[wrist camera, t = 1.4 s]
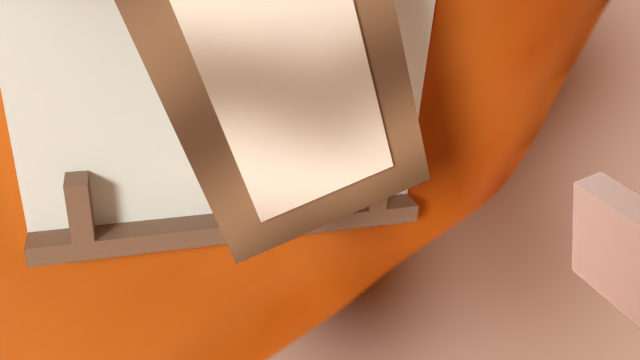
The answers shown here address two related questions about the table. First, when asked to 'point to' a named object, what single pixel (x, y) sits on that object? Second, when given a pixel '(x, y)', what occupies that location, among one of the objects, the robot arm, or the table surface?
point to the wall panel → (122, 136)
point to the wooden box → (283, 108)
